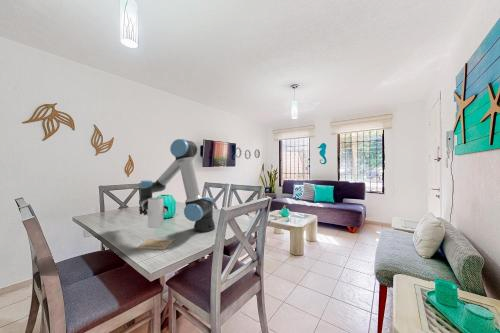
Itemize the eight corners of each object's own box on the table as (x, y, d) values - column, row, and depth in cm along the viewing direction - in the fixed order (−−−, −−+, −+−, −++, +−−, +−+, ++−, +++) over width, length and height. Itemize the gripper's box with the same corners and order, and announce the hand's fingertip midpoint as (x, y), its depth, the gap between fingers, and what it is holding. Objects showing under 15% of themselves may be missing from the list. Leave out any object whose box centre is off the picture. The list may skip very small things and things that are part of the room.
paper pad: (174, 240, 121) (174, 239, 121) (164, 249, 108) (164, 248, 108) (148, 239, 122) (148, 238, 122) (136, 248, 109) (136, 247, 109)
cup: (151, 223, 119) (151, 197, 118) (165, 223, 119) (165, 197, 119) (145, 228, 110) (145, 199, 110) (160, 228, 111) (160, 200, 111)
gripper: (165, 209, 135) (176, 216, 118) (130, 213, 122) (136, 222, 104) (166, 198, 135) (176, 204, 117) (130, 201, 122) (136, 208, 104)
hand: (157, 213), depth 111 cm, fingers closed on cup, 8 cm apart
